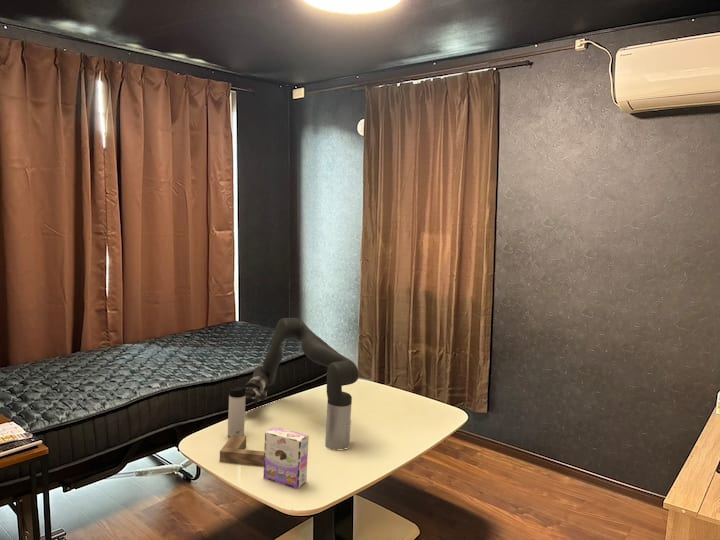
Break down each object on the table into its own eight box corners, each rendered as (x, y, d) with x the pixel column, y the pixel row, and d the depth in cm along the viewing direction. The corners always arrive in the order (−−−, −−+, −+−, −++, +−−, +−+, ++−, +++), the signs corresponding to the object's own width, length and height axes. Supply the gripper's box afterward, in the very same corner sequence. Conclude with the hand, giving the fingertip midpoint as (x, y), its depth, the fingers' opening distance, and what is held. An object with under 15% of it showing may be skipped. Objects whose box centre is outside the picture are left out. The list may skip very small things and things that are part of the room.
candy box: (307, 482, 181) (309, 434, 179) (297, 489, 176) (300, 441, 174) (272, 471, 187) (274, 425, 185) (262, 478, 181) (264, 431, 179)
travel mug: (240, 440, 209) (242, 390, 207) (224, 438, 210) (226, 388, 208) (247, 434, 215) (249, 385, 213) (231, 431, 216) (233, 383, 214)
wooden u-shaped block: (289, 450, 203) (289, 440, 203) (281, 468, 189) (281, 457, 189) (231, 444, 205) (232, 434, 204) (219, 462, 191) (219, 451, 190)
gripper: (239, 377, 238) (227, 389, 221) (271, 380, 237) (261, 392, 220) (238, 394, 238) (226, 407, 222) (270, 396, 237) (260, 410, 221)
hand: (244, 400), depth 221 cm, fingers open, 8 cm apart
